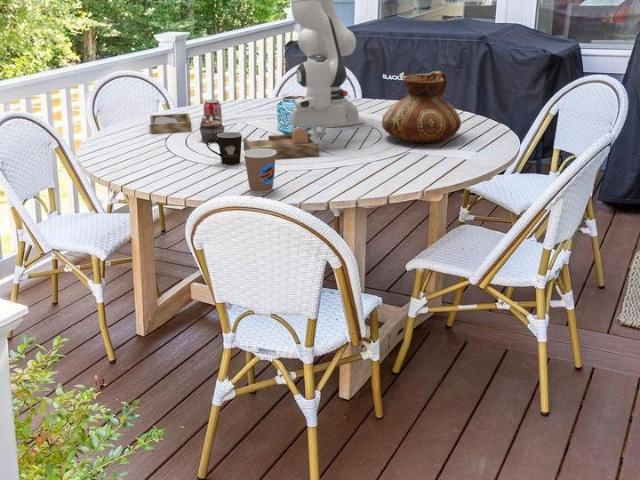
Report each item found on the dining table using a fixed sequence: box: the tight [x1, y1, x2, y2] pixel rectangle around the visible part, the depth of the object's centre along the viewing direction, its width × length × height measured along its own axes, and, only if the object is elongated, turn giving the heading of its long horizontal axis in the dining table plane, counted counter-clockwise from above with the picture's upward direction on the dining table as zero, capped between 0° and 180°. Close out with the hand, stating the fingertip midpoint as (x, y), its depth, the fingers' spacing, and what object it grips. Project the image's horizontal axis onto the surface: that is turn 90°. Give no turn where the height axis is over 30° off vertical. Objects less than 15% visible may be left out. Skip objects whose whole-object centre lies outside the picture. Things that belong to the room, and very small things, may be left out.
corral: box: [149, 112, 192, 135], centre depth 330 cm, size 16×18×4 cm
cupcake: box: [199, 114, 225, 144], centre depth 308 cm, size 10×10×10 cm
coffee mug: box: [206, 131, 243, 166], centre depth 278 cm, size 12×9×10 cm
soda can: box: [203, 99, 223, 123], centre depth 325 cm, size 7×7×12 cm
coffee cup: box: [242, 148, 277, 194], centre depth 247 cm, size 10×10×12 cm
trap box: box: [242, 132, 320, 160], centre depth 290 cm, size 25×17×4 cm
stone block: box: [154, 117, 178, 124], centre depth 331 cm, size 12×5×10 cm
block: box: [291, 127, 309, 143], centre depth 294 cm, size 5×5×4 cm
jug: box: [381, 70, 462, 146], centre depth 302 cm, size 30×30×25 cm
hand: (319, 137), depth 296 cm, fingers closed
